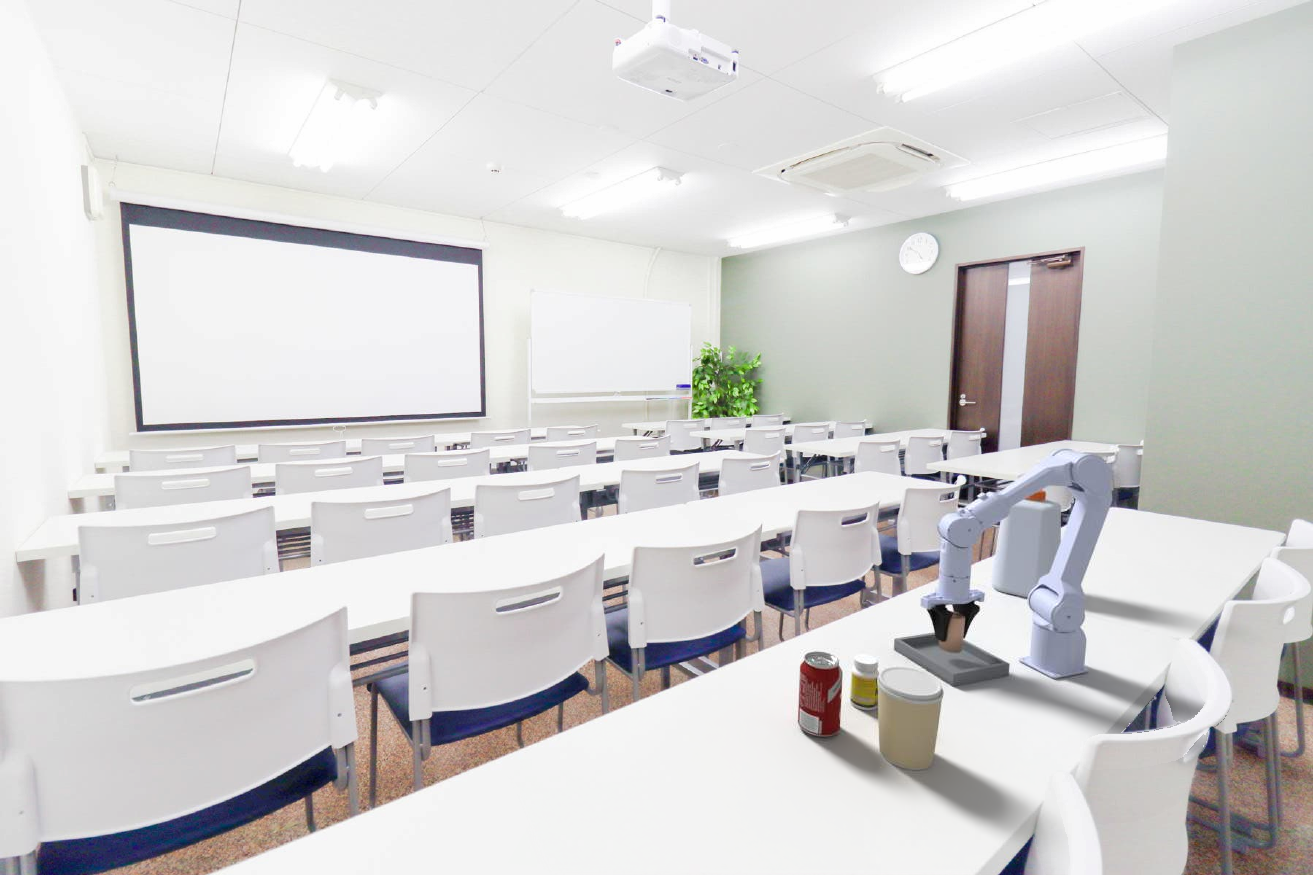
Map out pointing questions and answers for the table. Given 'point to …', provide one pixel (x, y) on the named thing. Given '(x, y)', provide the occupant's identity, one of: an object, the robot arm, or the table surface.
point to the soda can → (820, 694)
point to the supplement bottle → (864, 682)
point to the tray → (951, 660)
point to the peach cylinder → (954, 634)
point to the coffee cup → (908, 716)
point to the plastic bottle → (1027, 544)
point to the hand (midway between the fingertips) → (950, 638)
